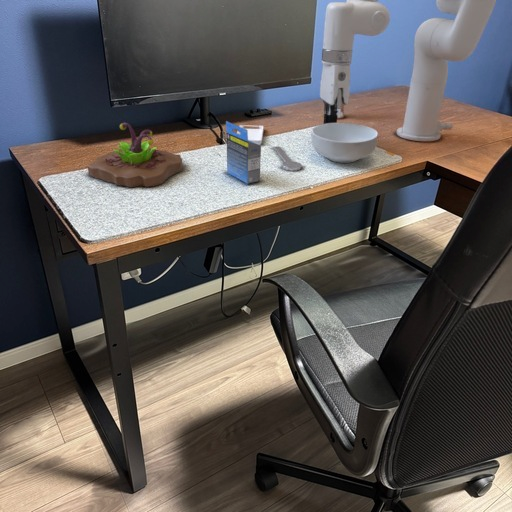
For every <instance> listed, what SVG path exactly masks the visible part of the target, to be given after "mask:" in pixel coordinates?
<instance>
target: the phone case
mask: <svg viewBox="0 0 512 512" xmlns="http://www.w3.org/2000/svg"><path fill="white" fill-rule="evenodd" d="M238 126H239V127H242V128H244V129H246V130H248V140H249V141H251V142H254V143H256V144H258V145H260V146H262V143H263V137H264V131H265V130H264V128H265V126H264V125H255V124H253V125H251V124H249V125H248V124H246V125H245V124H239V125H238ZM245 127H247V128H245ZM248 127H253V128H248ZM254 127H255V128H254ZM256 127H257V128H256ZM236 133H238V134H240V132H239V131H238V130H237V131H236Z"/></svg>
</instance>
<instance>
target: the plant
mask: <svg viewBox="0 0 512 512" xmlns="http://www.w3.org/2000/svg"><path fill="white" fill-rule="evenodd" d="M127 128H128V130H129V133H130V138H131V141H130V143H128V142H125V141H120V142H119V144H117V147H118V149H112V150H113V151H110V152H107V153H106V154H103V155H101V156H98V157H96V160H95V161H93V162H91V163H90V164H89V165H87V172H88V173H87V174H88V175H89V176H90V177H92V178H95V179H99V180H101V181H103V182H106V183H111V184H115V185H116V186H117V187H118V186H122V187H123V186H124V187H127V188H135V187H141V186H142V187H145V188H149V187H156V186H159V185H162V184H163V183H165V182H166V181H167V180H168V179H169V178H170V177H172V176H173V175H175V174H177V173H180V172H181V171H182V170H183V158H182V157H181V154H179V153H178V154H176V153H172V152H169V151H168V150H161V149H158V147H157V146H155V147H152V148H150V147H151V146H152V145H153V144H154V140H153V138H152V136H153V131H152V130H150V129H144V130H142V131H141V132H140V134H139V136H138V138H137V136H136V132H135V130H134V128H133V127H132V125H131V124H129V123H128V122H125V121H124V122H122V123H120V124H119V129H120V130H121V131H125V130H126V129H127ZM144 138H147V140H144V141H142V140H143V139H144Z"/></svg>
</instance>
